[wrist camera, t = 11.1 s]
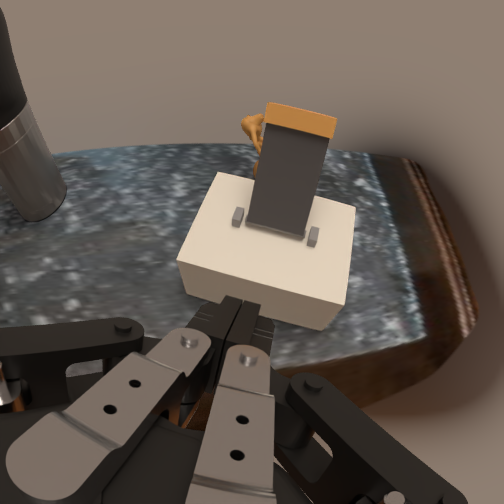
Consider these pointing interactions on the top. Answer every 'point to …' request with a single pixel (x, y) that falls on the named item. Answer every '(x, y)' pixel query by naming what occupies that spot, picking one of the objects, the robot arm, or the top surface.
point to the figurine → (254, 133)
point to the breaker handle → (289, 168)
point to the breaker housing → (268, 257)
